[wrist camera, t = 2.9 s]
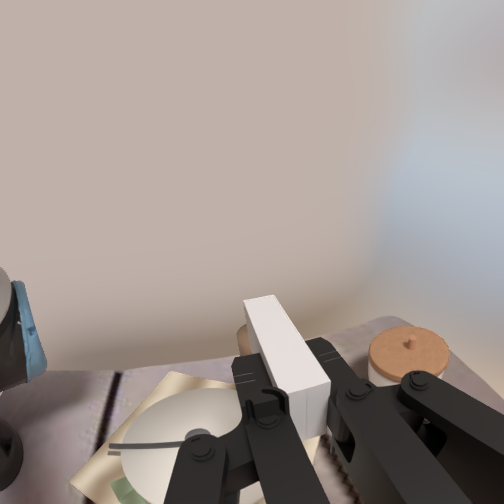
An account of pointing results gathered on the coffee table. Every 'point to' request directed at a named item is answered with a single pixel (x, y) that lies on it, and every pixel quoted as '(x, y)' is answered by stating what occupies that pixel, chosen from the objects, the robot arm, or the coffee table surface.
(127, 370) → the coffee table surface
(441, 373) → the lidded jar
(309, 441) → the beige flat board
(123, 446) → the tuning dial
